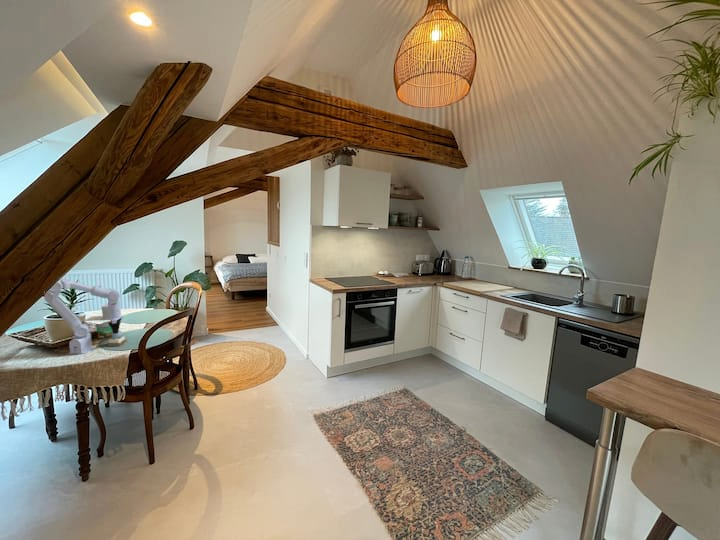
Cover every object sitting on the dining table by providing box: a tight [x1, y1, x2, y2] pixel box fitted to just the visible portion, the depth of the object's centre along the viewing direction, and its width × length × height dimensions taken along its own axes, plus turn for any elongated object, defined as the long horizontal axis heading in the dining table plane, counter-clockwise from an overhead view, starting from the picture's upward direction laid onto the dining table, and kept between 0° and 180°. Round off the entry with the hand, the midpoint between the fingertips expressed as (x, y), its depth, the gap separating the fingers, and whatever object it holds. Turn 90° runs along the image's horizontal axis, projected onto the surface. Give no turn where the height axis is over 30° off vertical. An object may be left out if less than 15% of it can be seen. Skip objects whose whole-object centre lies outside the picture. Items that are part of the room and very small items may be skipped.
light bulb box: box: [101, 303, 110, 321], centre depth 226 cm, size 11×7×11 cm, turn 17°
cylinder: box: [111, 330, 123, 339], centre depth 181 cm, size 4×4×4 cm
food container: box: [95, 320, 113, 340], centre depth 192 cm, size 12×6×10 cm, turn 168°
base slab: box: [107, 338, 128, 347], centre depth 182 cm, size 6×6×2 cm
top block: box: [108, 335, 126, 343], centre depth 181 cm, size 6×6×2 cm
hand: (116, 331), depth 180 cm, fingers open, 7 cm apart
